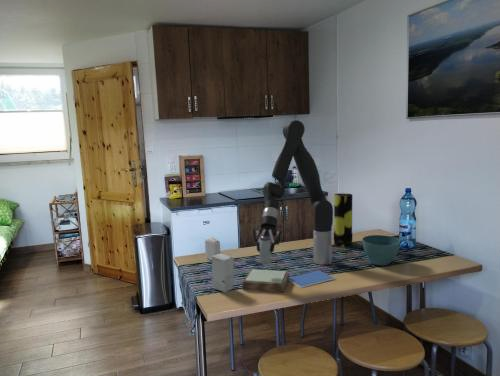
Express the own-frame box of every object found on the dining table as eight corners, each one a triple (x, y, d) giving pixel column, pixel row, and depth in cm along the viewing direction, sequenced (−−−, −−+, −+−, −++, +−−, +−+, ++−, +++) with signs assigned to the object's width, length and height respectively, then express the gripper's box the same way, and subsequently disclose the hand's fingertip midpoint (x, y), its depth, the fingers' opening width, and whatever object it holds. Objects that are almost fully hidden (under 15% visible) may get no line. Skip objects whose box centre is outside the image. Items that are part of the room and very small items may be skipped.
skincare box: (211, 288, 182) (210, 256, 179) (221, 284, 186) (219, 252, 184) (225, 292, 176) (224, 259, 174) (234, 288, 181) (233, 256, 179)
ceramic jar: (271, 260, 185) (271, 235, 183) (269, 264, 180) (269, 238, 178) (261, 260, 186) (260, 234, 184) (258, 263, 182) (258, 237, 180)
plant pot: (405, 262, 209) (406, 238, 207) (389, 271, 196) (390, 247, 194) (372, 255, 221) (372, 233, 219) (355, 264, 208) (355, 240, 206)
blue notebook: (300, 289, 179) (300, 286, 179) (285, 280, 190) (285, 277, 190) (335, 280, 188) (335, 277, 188) (318, 272, 199) (318, 269, 199)
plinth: (288, 278, 190) (288, 270, 190) (283, 292, 175) (283, 283, 174) (251, 276, 195) (250, 268, 194) (242, 289, 179) (242, 280, 179)
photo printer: (204, 258, 223) (203, 236, 221) (211, 256, 226) (210, 235, 224) (215, 262, 215) (214, 240, 214) (221, 261, 218) (221, 238, 216)
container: (355, 244, 242) (356, 194, 237) (346, 248, 234) (347, 196, 229) (339, 241, 249) (339, 192, 245) (330, 245, 241) (330, 195, 237)
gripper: (253, 214, 190) (247, 246, 180) (284, 215, 187) (279, 248, 177) (256, 222, 196) (250, 254, 186) (285, 224, 193) (281, 256, 183)
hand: (264, 251), depth 182 cm, fingers closed on ceramic jar, 5 cm apart
